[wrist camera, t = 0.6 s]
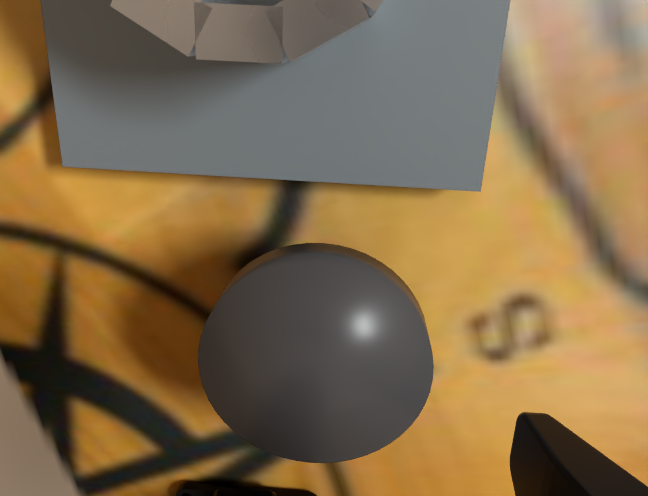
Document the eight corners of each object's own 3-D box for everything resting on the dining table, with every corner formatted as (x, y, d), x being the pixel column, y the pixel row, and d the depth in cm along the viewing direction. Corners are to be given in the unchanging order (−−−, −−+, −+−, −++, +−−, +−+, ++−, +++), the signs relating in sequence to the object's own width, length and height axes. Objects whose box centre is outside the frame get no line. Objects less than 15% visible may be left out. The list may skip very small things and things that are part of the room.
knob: (407, 380, 23) (419, 471, 18) (234, 368, 23) (202, 453, 18) (427, 215, 20) (448, 270, 15) (231, 203, 20) (192, 253, 16)
